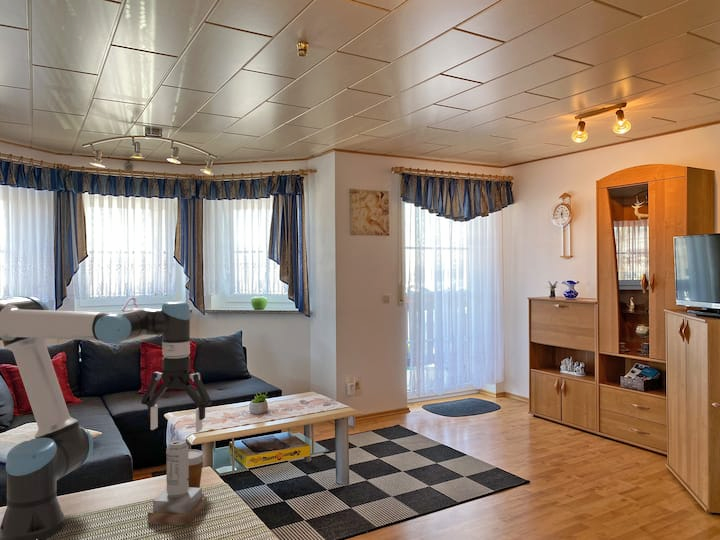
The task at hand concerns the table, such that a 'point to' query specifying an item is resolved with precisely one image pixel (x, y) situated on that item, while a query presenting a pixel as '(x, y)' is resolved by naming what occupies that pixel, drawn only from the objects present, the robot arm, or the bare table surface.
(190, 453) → the disposable coffee cup
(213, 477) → the table surface
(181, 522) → the plinth
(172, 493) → the energy drink can
